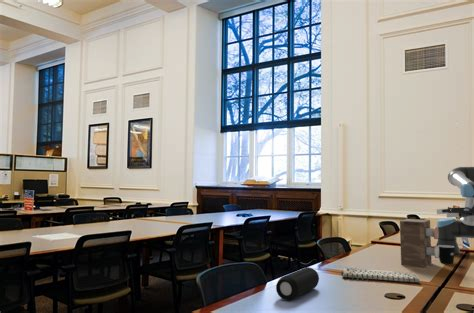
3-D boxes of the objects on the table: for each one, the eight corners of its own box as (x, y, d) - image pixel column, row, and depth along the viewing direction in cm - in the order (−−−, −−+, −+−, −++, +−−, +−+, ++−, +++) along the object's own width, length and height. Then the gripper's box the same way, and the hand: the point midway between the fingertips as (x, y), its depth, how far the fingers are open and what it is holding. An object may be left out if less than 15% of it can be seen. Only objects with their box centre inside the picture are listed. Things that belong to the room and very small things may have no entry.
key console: (408, 260, 242) (407, 218, 244) (431, 263, 234) (430, 220, 236) (401, 265, 230) (399, 220, 231) (424, 268, 222) (423, 222, 223)
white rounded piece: (417, 255, 235) (417, 243, 236) (439, 257, 228) (439, 244, 228) (414, 256, 230) (414, 244, 230) (436, 259, 222) (436, 246, 222)
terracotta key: (417, 236, 236) (416, 224, 236) (438, 238, 228) (438, 226, 229) (413, 238, 230) (413, 225, 231) (436, 239, 223) (435, 227, 223)
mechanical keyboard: (415, 276, 204) (415, 270, 205) (422, 286, 186) (421, 279, 186) (341, 272, 215) (341, 266, 215) (340, 281, 197) (340, 274, 197)
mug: (452, 265, 228) (451, 248, 229) (436, 263, 235) (435, 246, 235) (458, 262, 237) (458, 245, 237) (443, 260, 243) (442, 243, 244)
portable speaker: (301, 286, 186) (301, 265, 186) (321, 289, 180) (320, 267, 180) (274, 299, 165) (274, 275, 166) (295, 303, 159) (294, 279, 160)
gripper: (474, 213, 206) (433, 216, 221) (491, 220, 221) (451, 222, 236) (472, 200, 208) (432, 203, 223) (489, 207, 223) (450, 210, 239)
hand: (442, 213), depth 230 cm, fingers open, 13 cm apart
